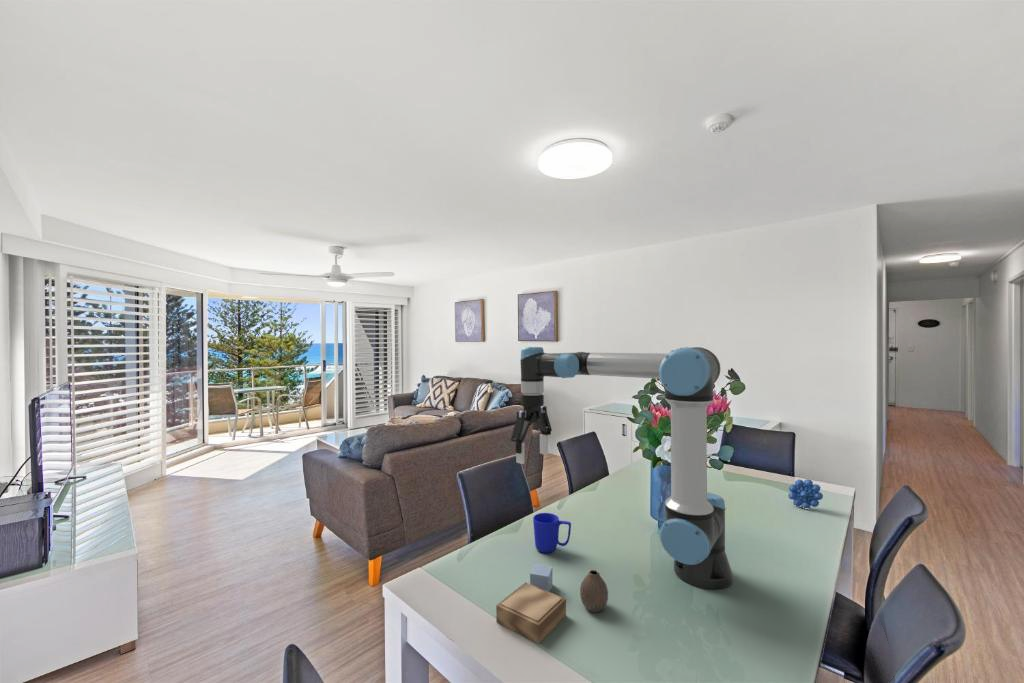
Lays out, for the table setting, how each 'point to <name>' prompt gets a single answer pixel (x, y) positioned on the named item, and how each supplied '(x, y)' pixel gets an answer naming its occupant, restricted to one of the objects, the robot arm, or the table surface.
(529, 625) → the plinth
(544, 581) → the block
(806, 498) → the grapes
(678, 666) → the table surface
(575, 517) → the table surface
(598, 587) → the vase
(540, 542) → the mug
